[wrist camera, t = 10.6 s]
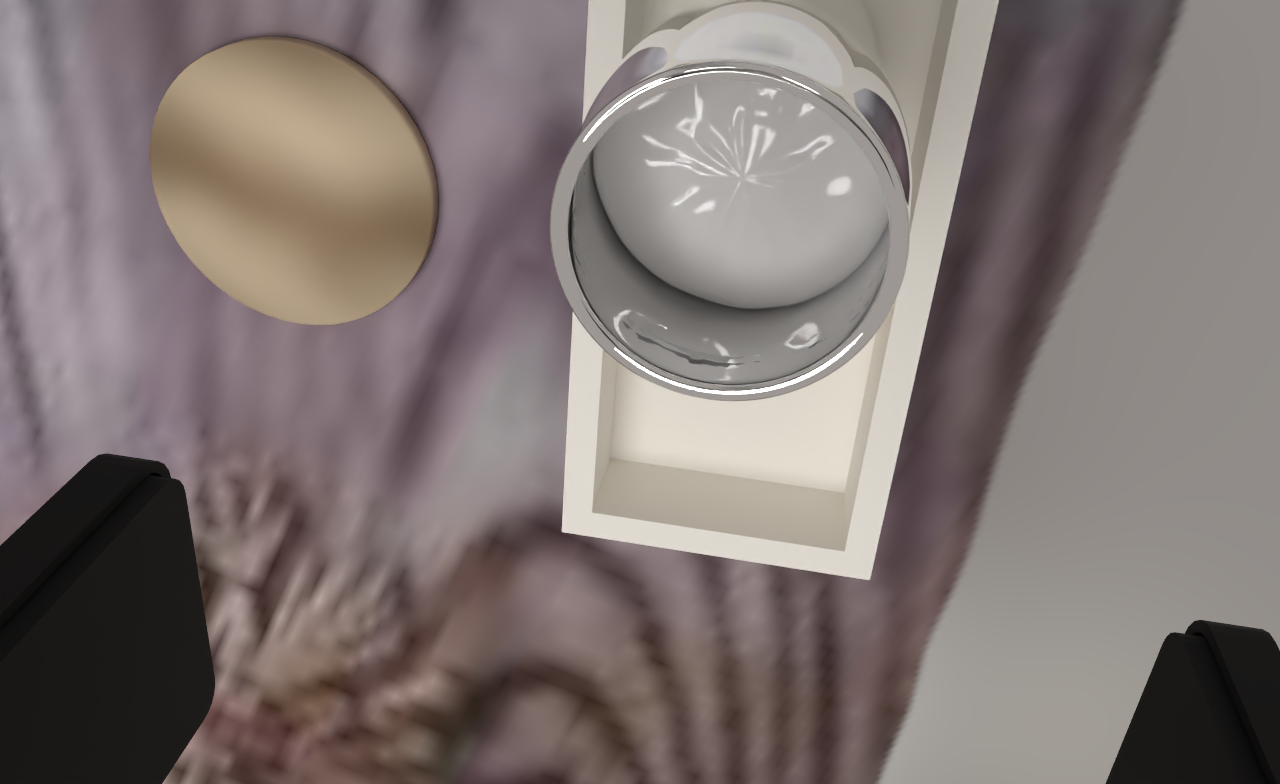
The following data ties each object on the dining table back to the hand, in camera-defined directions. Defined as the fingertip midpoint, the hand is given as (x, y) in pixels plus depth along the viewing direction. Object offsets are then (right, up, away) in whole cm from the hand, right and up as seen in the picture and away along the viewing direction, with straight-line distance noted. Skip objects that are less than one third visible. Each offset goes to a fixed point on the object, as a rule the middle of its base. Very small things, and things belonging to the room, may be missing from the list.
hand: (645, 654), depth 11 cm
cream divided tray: (+4, +8, +26) cm, 28 cm away
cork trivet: (-12, +10, +28) cm, 32 cm away
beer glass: (+4, +12, +23) cm, 26 cm away
